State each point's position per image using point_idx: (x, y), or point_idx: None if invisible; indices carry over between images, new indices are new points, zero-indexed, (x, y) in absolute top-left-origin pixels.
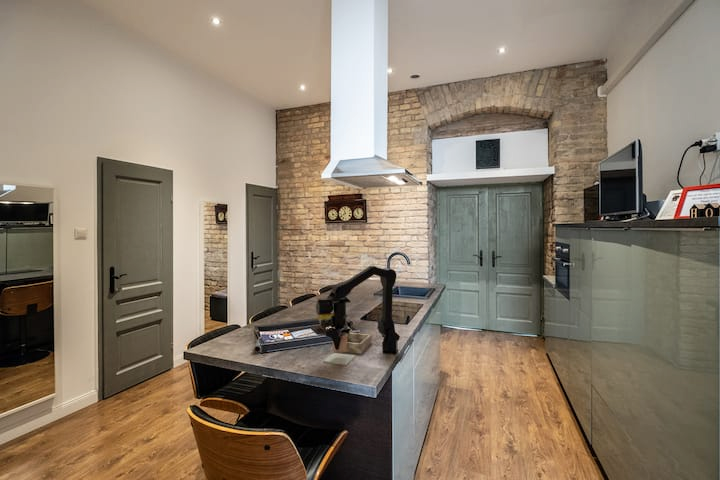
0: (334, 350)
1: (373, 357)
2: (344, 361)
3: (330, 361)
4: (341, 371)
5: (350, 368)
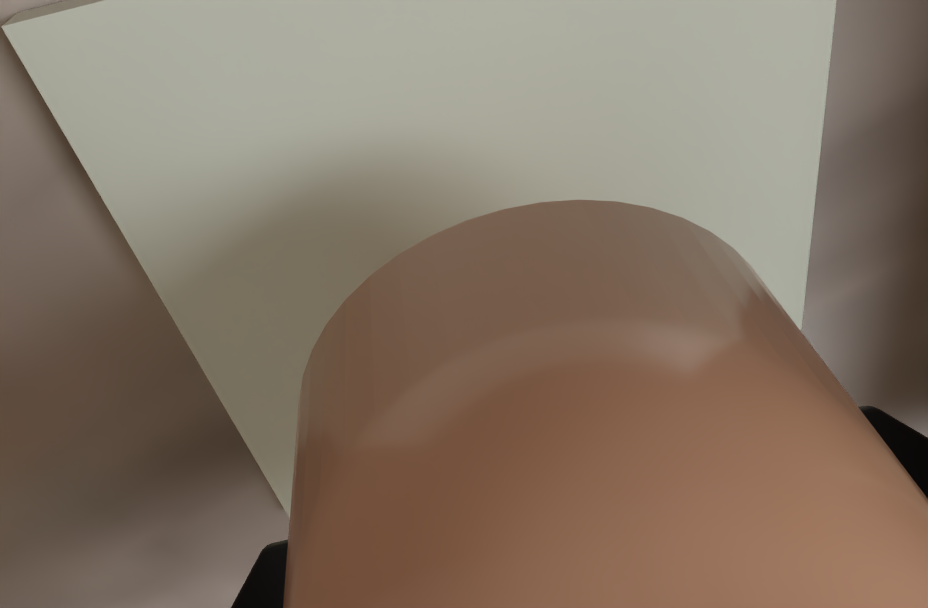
0: (298, 433)
1: None
2: None
3: (143, 228)
4: (12, 582)
5: (225, 595)
